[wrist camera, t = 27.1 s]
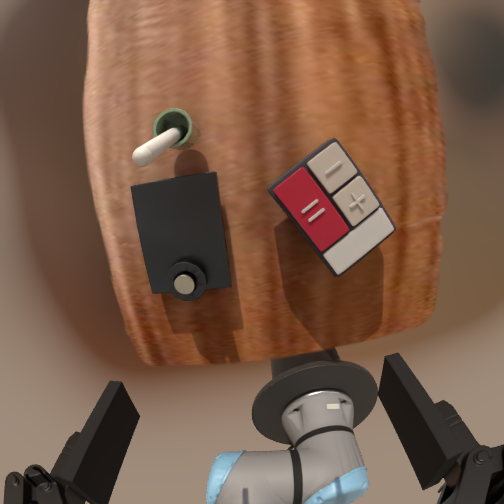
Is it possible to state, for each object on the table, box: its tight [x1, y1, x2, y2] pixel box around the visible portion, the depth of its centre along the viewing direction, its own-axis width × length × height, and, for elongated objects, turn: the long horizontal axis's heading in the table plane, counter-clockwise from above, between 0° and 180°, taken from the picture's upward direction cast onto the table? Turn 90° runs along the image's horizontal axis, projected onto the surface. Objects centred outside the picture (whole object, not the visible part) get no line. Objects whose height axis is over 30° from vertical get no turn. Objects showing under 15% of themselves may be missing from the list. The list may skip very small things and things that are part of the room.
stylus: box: [132, 125, 186, 167], centre depth 27 cm, size 2×2×15 cm
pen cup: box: [153, 108, 200, 150], centre depth 32 cm, size 5×5×5 cm
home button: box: [174, 272, 196, 294], centre depth 37 cm, size 3×3×1 cm
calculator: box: [267, 138, 396, 277], centre depth 35 cm, size 11×4×15 cm
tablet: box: [131, 171, 232, 301], centre depth 37 cm, size 17×12×2 cm
